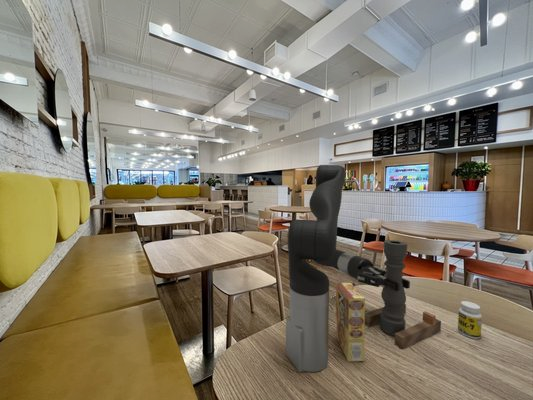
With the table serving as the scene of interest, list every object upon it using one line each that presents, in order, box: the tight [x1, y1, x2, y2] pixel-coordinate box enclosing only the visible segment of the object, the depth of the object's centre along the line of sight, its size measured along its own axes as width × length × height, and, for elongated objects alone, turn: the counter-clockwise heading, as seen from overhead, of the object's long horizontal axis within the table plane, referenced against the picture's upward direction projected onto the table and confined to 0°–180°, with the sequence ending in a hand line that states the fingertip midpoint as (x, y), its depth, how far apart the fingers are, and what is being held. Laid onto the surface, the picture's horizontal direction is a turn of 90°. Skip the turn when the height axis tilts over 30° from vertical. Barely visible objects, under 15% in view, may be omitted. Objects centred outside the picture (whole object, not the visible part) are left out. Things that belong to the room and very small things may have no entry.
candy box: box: [335, 282, 366, 362], centre depth 55 cm, size 9×4×15 cm, turn 1°
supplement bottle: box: [457, 300, 483, 340], centre depth 61 cm, size 5×5×8 cm
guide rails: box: [365, 303, 442, 350], centre depth 64 cm, size 17×13×6 cm
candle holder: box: [379, 239, 408, 336], centre depth 62 cm, size 6×6×25 cm
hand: (403, 286), depth 60 cm, fingers closed on candle holder, 3 cm apart
